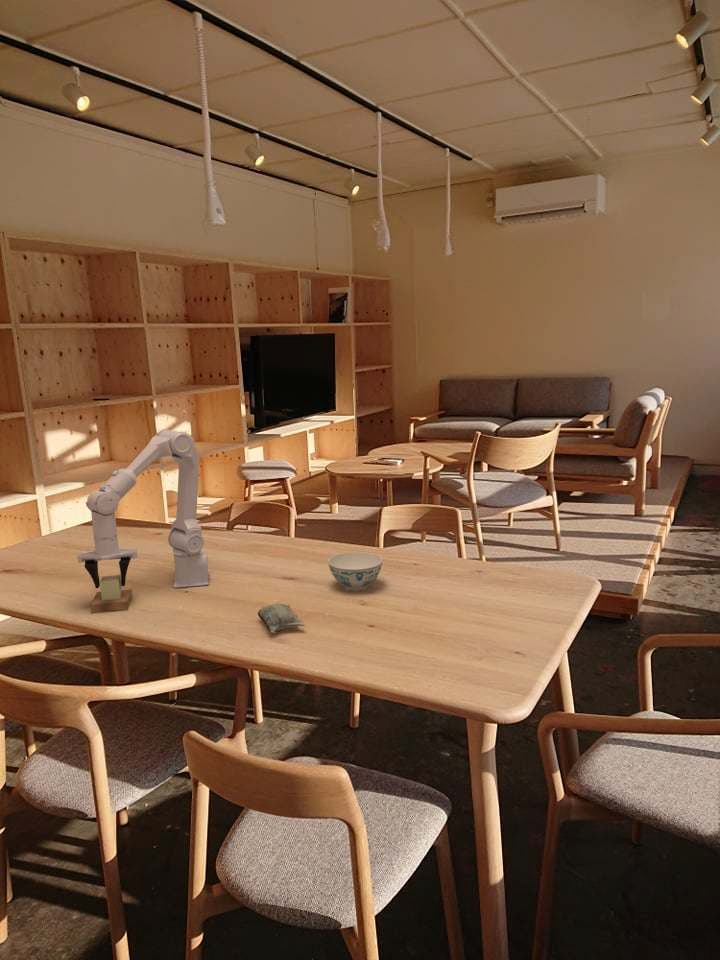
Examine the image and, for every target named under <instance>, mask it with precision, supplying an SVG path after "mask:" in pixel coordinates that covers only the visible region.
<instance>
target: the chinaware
mask: <svg viewBox="0 0 720 960" xmlns="http://www.w3.org/2000/svg"><path fill="white" fill-rule="evenodd" d="M327 564H328V567H329V570H330V572H331V575H332V576H333V578H334V579H335V580H336V581H337V582H338V583H340V585H342V586H343V588H344V589H345V590H347V589H348V590H347V591H350V590H354V591H353V592H359V591H358V590H361V591H364V590H366V589H368V588H367V587H369V585H370V584H371V583H373V582H374V581H375V580H376V579H377V577H378V576H379V574H380V572H381V569H382V566H383V558H382V557H381V556H380V555H378V554H375V553H372V552H365V551H350V552H349V551H348V552H342V553H338V554H335V555H332V556H331V557H330V558H328V560H327ZM363 589H364V590H363Z"/></svg>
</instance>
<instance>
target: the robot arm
mask: <svg viewBox="0 0 720 960" xmlns="http://www.w3.org/2000/svg"><path fill="white" fill-rule="evenodd" d="M170 456H171V458H172V459H174V461H175V462H176V463H178V477H177V478H178V479H177V495H176V497H177V500H176V501H177V502H176V517H175V518H176V519H175V520H174V521H173V522H172V523H171V529H170V532H169V533H168V537H167V543H168V544H169V546H170V547H171V548H172V553H173V561H174V572H175V573H174V574H175V578H174V583H173V588H174V589H176V588H177V589H178V588H187V587H198V586H199V587H200V586H201V587H202V586H209V580H210V576H211V575H210V570H209V561H208V559H209V558H208V551H202V549H203V547H204V544H205V543H204V542H205V539H204V537H203V535H202V526H201V525H200V524H199V522H198V521H197V514H198V513H197V510H198V491H199V473H200V471H199V470H200V456H199V453H198V451H197V449H196V446H195V439H194V438H193V437H192V436H191V435H190V434H189V433H188V432H186V431H176V430H171V429H168V428H166V429H165V428H164V429H161V430H159V431H158V432H157V433H156V435H154V436H152V438H151V439H150V441H149V442H148V444H147V445H146V446H145V447H144V448H143V450H142V451H141V452H140V453H139V454H138V455H137V456H136V457H135V458H134V460H133V461H132V462H131V463H130V464H129V465H128V466H127V468H119V469H118V470H116V469H115V470H114V471H112V473H111V475H112V476H111V477H110V478H109V479H108V480H107V481H105V483H104V484H101V485H99V487H98V488H99V489H96V490H93V491H91V493H89V495H88V496H87V497H88V498H87V501H85V505H86V507H87V509H88V510H89V511H90V514H91V523H92V533H93V535H92V536H93V543H94V551H89V552H82V553H78V554H77V556H76V557H77V564H82V563H83V562H84V568H85V569H86V571H87V572H88V574H89V575H90V578H91V580H92V581H93V584H94V587H95V589H99V588H100V587H101V586H100V581H101V580H100V576H99V568H98V567H99V561H108V560H109V561H110V560H111V561H112V560H119V561H118V564H119V565H118V566H119V571H120V572H119V573H120V576H121V586H122V587H125V586H126V579H127V578H126V577H127V572H128V568H129V566H130V562H131V560H132V559H137V558H138V551H137V549H129V548H127V549H126V548H124V549H122V548H121V549H120V548H119V539H118V529H117V521H116V520H117V519H116V511H117V509H118V507H119V505H120V504H119V503H120V501H121V500H122V499H123V498H124V497H125V496H126V495H127V494H128V493H129V492H130V491H131V490H132V489H133V488H134V487H135V486H136V485H137V479H138V478H137V477H138V476H139V475H141V474H142V473H143V472H144V471H145V470H146V469H148V468H149V467H150V466H151V465H152V464H153V463H154V462H155V461H156V460H158V459H160V458H164V457H166V458H167V457H170Z"/></svg>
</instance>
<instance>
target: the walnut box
mask: <svg viewBox="0 0 720 960" xmlns="http://www.w3.org/2000/svg"><path fill="white" fill-rule="evenodd" d="M133 596H134V595H133V589H122V595H121V598H120V599H113V600H102V595H101V591H96V593H95V595H94V596H93V599H92V601H91V603H90V612H91V615H92V614H102V613H103V614H105V613H115V612H125V611H126V612H127V611H129V610H130V606H131V603H132V601H133Z"/></svg>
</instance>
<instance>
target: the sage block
mask: <svg viewBox="0 0 720 960" xmlns="http://www.w3.org/2000/svg"><path fill="white" fill-rule="evenodd" d="M99 581H100V586H99V587H100V592H101V595H102V600H113V599H120V598H121V595H122V590H123V588H122V587H123V586H121V574H116V575H106V576H102V577H101V579H100V580H99Z"/></svg>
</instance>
